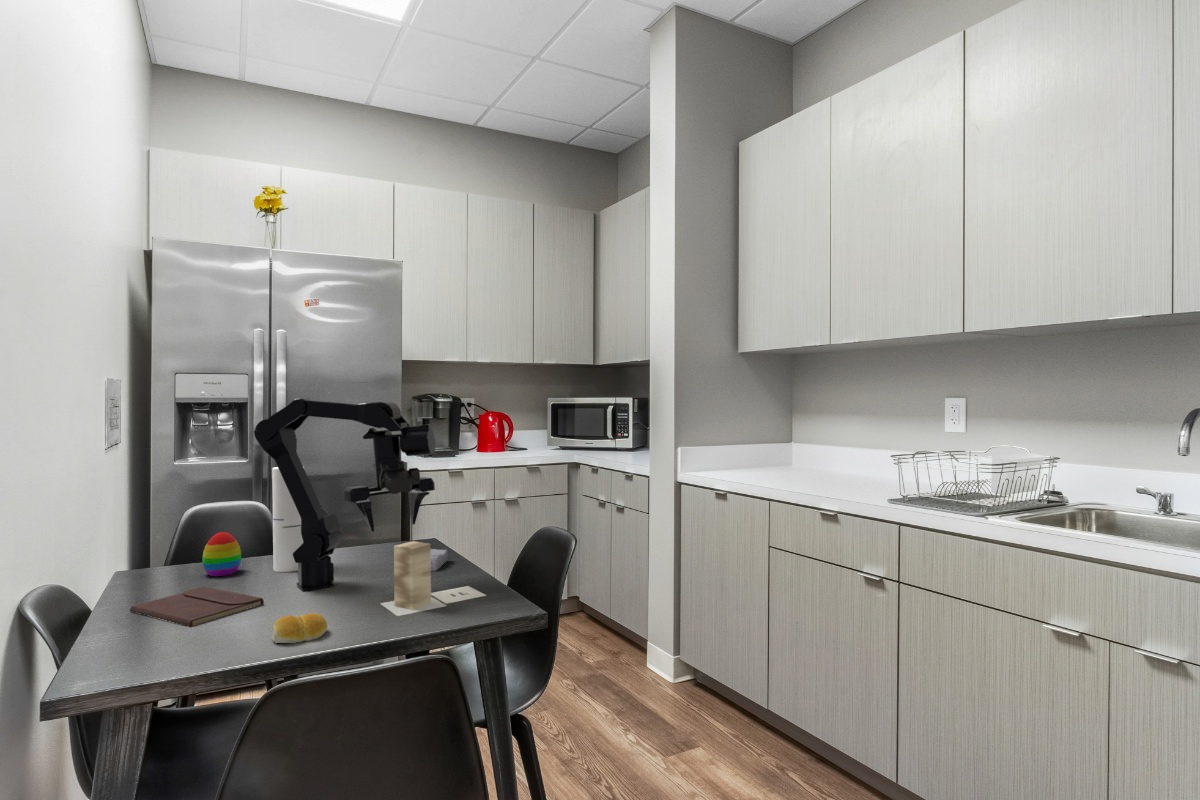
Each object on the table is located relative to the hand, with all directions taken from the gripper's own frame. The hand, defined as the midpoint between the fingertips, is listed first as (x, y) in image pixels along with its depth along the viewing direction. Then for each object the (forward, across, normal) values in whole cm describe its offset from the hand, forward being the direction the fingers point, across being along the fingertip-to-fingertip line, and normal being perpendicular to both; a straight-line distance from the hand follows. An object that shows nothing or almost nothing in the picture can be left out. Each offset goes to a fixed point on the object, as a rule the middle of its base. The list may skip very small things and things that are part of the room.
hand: (393, 527), depth 149 cm
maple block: (+13, -3, -16) cm, 21 cm away
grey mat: (+14, -3, -16) cm, 21 cm away
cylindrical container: (+11, -16, +33) cm, 38 cm away
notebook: (+11, -37, +10) cm, 40 cm away
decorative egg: (+10, -30, +38) cm, 49 cm away
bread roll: (+13, -25, -20) cm, 35 cm away
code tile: (+14, +7, -15) cm, 22 cm away
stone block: (+14, +11, +13) cm, 22 cm away
